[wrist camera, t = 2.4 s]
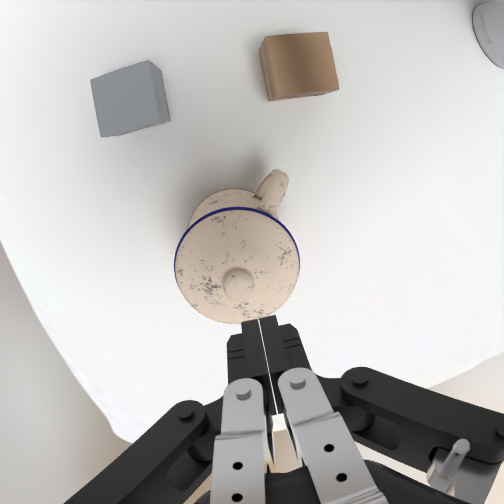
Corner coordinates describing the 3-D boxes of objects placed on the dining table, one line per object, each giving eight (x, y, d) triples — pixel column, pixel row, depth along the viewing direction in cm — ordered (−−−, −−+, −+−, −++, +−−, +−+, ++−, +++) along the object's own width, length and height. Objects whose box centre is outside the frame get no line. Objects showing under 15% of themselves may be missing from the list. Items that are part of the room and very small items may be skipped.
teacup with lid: (252, 289, 33) (264, 363, 23) (171, 251, 31) (146, 315, 20) (313, 188, 30) (361, 222, 19) (229, 140, 28) (231, 146, 17)
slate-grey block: (161, 70, 25) (148, 60, 20) (170, 121, 27) (160, 119, 22) (110, 86, 25) (90, 79, 20) (120, 135, 27) (100, 137, 22)
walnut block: (311, 46, 25) (327, 32, 20) (321, 95, 27) (339, 89, 22) (258, 51, 25) (265, 36, 20) (268, 101, 27) (277, 95, 22)
